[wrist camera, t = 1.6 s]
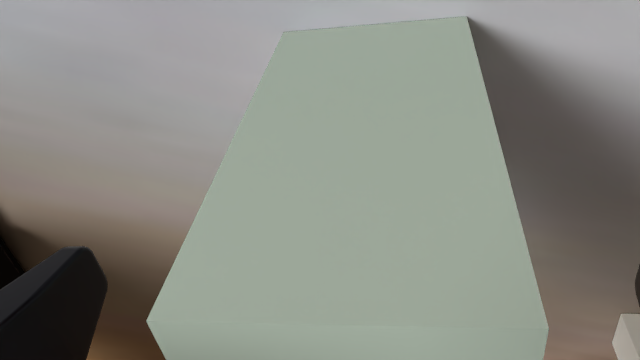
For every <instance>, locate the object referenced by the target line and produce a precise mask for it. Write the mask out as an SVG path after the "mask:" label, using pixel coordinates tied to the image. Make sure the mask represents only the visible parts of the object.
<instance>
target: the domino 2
mask: <svg viewBox="0 0 640 360" xmlns="http://www.w3.org/2000/svg"><path fill="white" fill-rule="evenodd" d="M612 345H613V347H614V350H615V353H616V355H617V358H618V360H640V314H621V315H620V318H619V322H618V325H617V328H616V331H615V334H614V338H613V341H612Z"/></svg>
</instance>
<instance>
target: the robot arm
mask: <svg viewBox="0 0 640 360" xmlns="http://www.w3.org/2000/svg"><path fill="white" fill-rule="evenodd" d="M635 290H636V295H637V299H638V303H639V307H640V266H639V269H638V272H637V275H636V279H635ZM106 293H107V278H106V276H105V274H104V272H103V270H102V269H101V267H100V265H99V263H98V261H97V259H96V257H95V256H94V254H93V252H92V251H91V250H90V249H89V248H88V247H85V246H73V247H64V248H62V249H60V250H59V251H57V252H56V253H54V254H53V255H51V256H50V257H48V258H47V259H45V260H44V261H42V262H41V263H39V264H38V265H36V266H35V267H33V268H32V269H30V270H29V271H27V272H26V273H24V272H23V271H22V269H21V268H20V266H19V265H18V263H17V262H16V260H15V259H14V257H13V256H12V254H11V253H10V251H9V250H8V248H7V247H6V245H5V244H4V242H3V241H2V239H1V238H0V360H86V358H87V355H88V352H89V348H90V345H91V342H92V339H93V335H94V332H95V329H96V325H97V322H98V319H99V316H100V312H101V309H102V306H103V303H104V299H105V296H106Z"/></svg>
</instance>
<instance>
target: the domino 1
mask: <svg viewBox="0 0 640 360" xmlns="http://www.w3.org/2000/svg"><path fill="white" fill-rule="evenodd" d="M146 322H147V324H148V326H149V328H150V330H151V332H152V334H153V336H154V337H155V339H156V341H157V343H158V345H159V347H160V349H161V351H162V353H163V355H164V357H165V359H166V360H543V357H544V352H545V346H546V341H547V336H548V331H549V327H548V324H547V320H546V316H545V312H544V308H543V305H542V301H541V297H540V293H539V289H538V286H537V282H536V278H535V274H534V270H533V267H532V263H531V259H530V255H529V251H528V248H527V244H526V240H525V236H524V232H523V229H522V225H521V221H520V217H519V213H518V210H517V206H516V202H515V198H514V194H513V190H512V187H511V183H510V179H509V175H508V171H507V168H506V164H505V160H504V156H503V152H502V149H501V145H500V141H499V137H498V133H497V130H496V126H495V122H494V118H493V114H492V111H491V107H490V103H489V99H488V95H487V92H486V88H485V84H484V80H483V76H482V73H481V69H480V65H479V61H478V57H477V54H476V50H475V46H474V42H473V38H472V35H471V31H470V27H469V23H468V19H467V17H455V18H443V19H432V20H420V21H408V22H397V23H385V24H373V25H362V26H350V27H338V28H327V29H315V30H303V31H291V32H283V34H282V37H281V39H280V41H279V43H278V45H277V47H276V49H275V51H274V53H273V55H272V58H271V60H270V62H269V64H268V66H267V68H266V70H265V72H264V74H263V76H262V79H261V81H260V83H259V85H258V87H257V89H256V91H255V93H254V95H253V98H252V100H251V102H250V104H249V106H248V108H247V110H246V112H245V114H244V116H243V119H242V121H241V123H240V125H239V127H238V129H237V131H236V133H235V135H234V137H233V140H232V142H231V144H230V146H229V148H228V150H227V152H226V154H225V156H224V158H223V161H222V163H221V165H220V167H219V169H218V171H217V173H216V175H215V177H214V180H213V182H212V184H211V186H210V188H209V190H208V192H207V194H206V196H205V198H204V201H203V203H202V205H201V207H200V209H199V211H198V213H197V215H196V217H195V219H194V222H193V224H192V226H191V228H190V230H189V232H188V234H187V236H186V238H185V240H184V243H183V245H182V247H181V249H180V251H179V253H178V255H177V257H176V259H175V262H174V264H173V266H172V268H171V270H170V272H169V274H168V276H167V278H166V280H165V283H164V285H163V287H162V289H161V291H160V293H159V295H158V297H157V299H156V301H155V304H154V306H153V308H152V310H151V312H150V314H149V316H148V318H147V320H146Z"/></svg>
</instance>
